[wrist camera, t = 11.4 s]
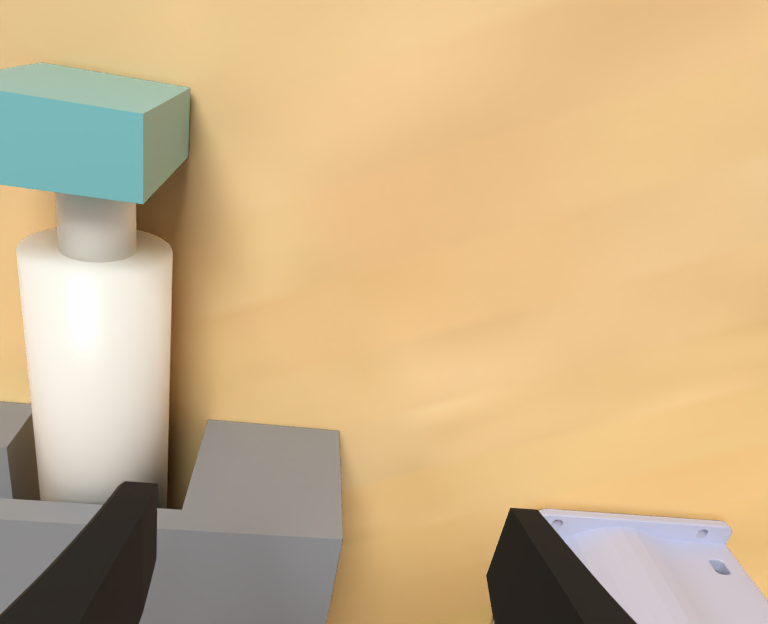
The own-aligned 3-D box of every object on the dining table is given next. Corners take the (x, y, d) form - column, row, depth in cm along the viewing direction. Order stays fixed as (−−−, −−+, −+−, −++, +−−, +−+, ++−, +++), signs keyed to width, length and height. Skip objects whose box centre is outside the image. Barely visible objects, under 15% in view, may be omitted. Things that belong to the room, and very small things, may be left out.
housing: (339, 430, 23) (342, 539, 18) (303, 632, 28) (299, 758, 24) (-7, 400, 21) (-104, 513, 17) (22, 623, 26) (-46, 758, 22)
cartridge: (190, 87, 17) (143, 113, 13) (176, 494, 24) (142, 605, 19) (41, 62, 17) (-63, 80, 12) (70, 487, 23) (9, 600, 19)
